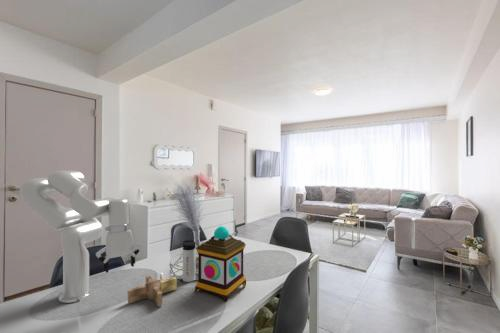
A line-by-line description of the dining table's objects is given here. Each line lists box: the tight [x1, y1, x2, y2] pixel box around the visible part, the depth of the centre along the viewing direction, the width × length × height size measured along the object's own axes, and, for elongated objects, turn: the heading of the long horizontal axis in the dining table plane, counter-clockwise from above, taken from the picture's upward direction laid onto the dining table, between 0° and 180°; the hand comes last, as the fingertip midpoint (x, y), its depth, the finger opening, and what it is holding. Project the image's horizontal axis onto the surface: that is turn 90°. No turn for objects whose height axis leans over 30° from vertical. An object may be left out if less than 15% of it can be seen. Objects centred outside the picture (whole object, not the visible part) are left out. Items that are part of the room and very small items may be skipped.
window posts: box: [159, 272, 175, 281], centre depth 119 cm, size 5×5×5 cm
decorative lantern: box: [194, 225, 247, 302], centre depth 116 cm, size 20×20×30 cm
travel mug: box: [182, 239, 197, 283], centre depth 124 cm, size 6×7×20 cm
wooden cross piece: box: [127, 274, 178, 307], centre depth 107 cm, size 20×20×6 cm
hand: (119, 268), depth 105 cm, fingers open, 9 cm apart
